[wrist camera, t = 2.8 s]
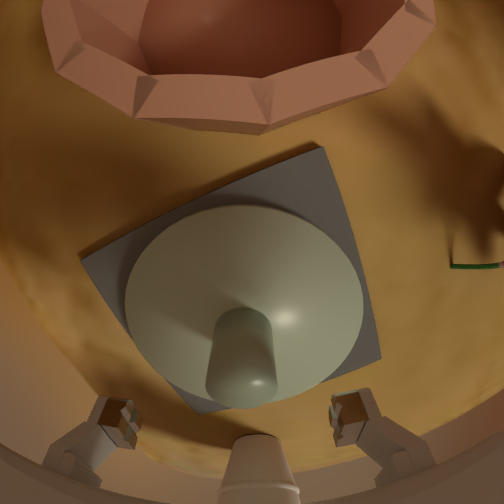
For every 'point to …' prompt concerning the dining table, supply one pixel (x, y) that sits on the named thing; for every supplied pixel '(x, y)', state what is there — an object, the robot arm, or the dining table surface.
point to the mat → (262, 193)
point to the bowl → (233, 56)
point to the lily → (478, 266)
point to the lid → (244, 304)
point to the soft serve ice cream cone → (258, 473)
